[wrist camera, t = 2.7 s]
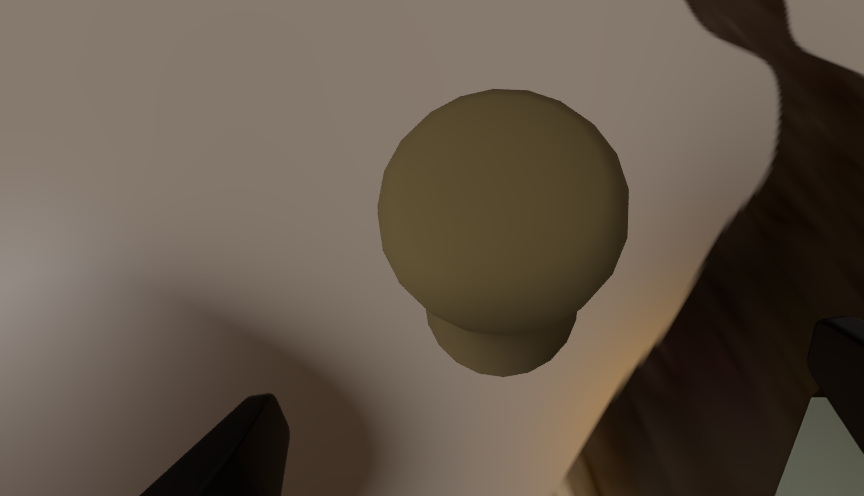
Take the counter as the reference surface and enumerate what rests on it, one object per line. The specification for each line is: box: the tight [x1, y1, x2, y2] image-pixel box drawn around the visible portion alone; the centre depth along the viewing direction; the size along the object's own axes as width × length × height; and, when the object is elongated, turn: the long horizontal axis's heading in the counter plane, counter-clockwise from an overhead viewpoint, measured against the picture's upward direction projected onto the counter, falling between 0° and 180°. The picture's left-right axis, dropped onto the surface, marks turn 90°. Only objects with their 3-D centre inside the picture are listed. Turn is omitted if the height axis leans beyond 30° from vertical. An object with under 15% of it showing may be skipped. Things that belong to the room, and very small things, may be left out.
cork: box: [378, 89, 629, 377], centre depth 14 cm, size 6×6×11 cm
